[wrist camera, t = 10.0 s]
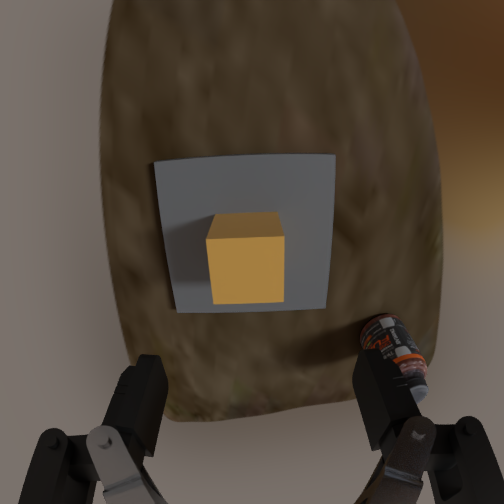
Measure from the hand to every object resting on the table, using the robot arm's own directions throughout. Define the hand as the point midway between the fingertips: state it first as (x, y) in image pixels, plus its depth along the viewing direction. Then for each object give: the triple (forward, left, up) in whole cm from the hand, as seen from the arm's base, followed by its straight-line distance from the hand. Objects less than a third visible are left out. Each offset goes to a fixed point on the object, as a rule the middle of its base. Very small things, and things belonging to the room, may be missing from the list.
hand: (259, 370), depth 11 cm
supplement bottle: (+15, +15, -19) cm, 28 cm away
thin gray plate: (+2, -1, -19) cm, 19 cm away
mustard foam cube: (+2, -1, -18) cm, 18 cm away
